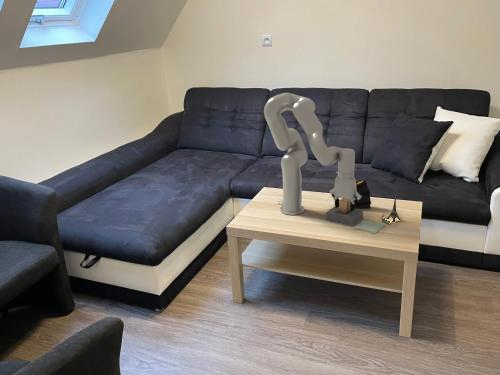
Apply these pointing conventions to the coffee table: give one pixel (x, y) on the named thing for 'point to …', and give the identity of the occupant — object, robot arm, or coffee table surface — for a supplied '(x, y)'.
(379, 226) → the mat
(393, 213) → the eiffel tower figurine
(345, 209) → the plug
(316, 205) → the coffee table surface
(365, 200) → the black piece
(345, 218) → the grey flat block
